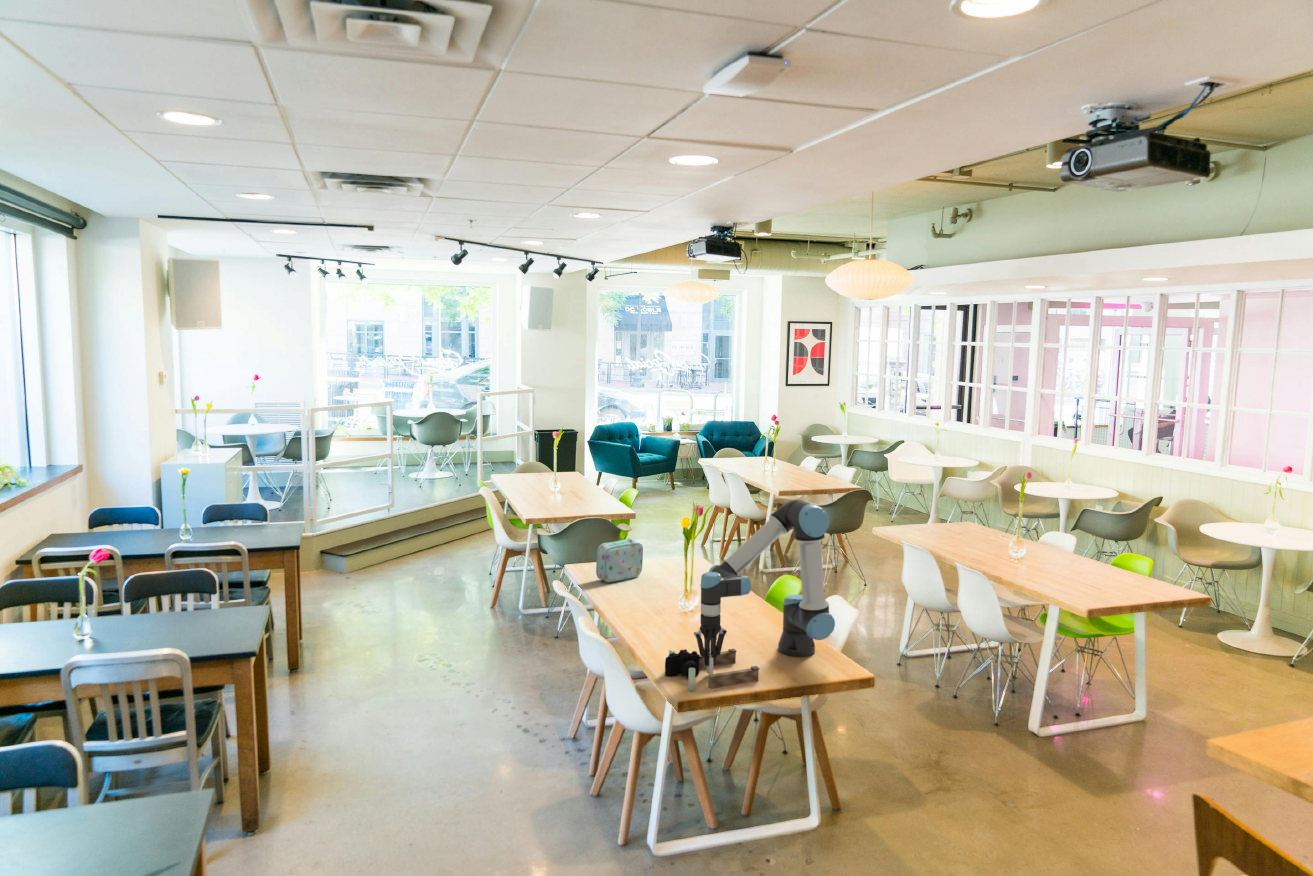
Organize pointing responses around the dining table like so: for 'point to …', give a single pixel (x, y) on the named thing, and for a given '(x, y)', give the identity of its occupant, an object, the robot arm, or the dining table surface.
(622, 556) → the lunch box
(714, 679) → the chute
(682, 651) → the film camera
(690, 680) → the posts
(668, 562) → the dining table surface
